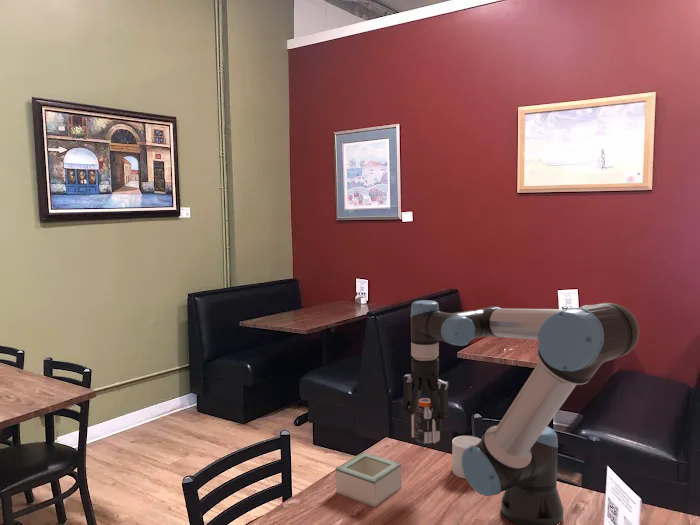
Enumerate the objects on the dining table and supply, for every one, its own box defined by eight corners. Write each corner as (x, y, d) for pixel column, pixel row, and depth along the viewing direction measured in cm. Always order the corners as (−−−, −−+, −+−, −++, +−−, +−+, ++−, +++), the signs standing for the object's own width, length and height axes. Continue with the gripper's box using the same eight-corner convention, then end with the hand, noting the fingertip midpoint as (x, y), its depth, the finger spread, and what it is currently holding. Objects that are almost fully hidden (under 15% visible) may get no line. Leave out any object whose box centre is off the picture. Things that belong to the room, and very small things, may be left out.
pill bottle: (435, 444, 156) (435, 404, 155) (414, 443, 157) (413, 403, 156) (436, 436, 162) (436, 397, 161) (415, 434, 163) (415, 396, 162)
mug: (485, 480, 165) (486, 448, 164) (453, 479, 165) (453, 448, 164) (479, 461, 177) (479, 432, 176) (449, 460, 177) (449, 431, 176)
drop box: (401, 487, 161) (401, 463, 160) (374, 507, 151) (374, 481, 150) (364, 474, 169) (363, 451, 168) (336, 492, 159) (335, 468, 158)
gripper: (462, 359, 155) (462, 441, 157) (403, 349, 166) (404, 426, 168) (449, 365, 149) (449, 451, 151) (388, 355, 160) (389, 435, 162)
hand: (425, 438), depth 160 cm, fingers closed on pill bottle, 6 cm apart
